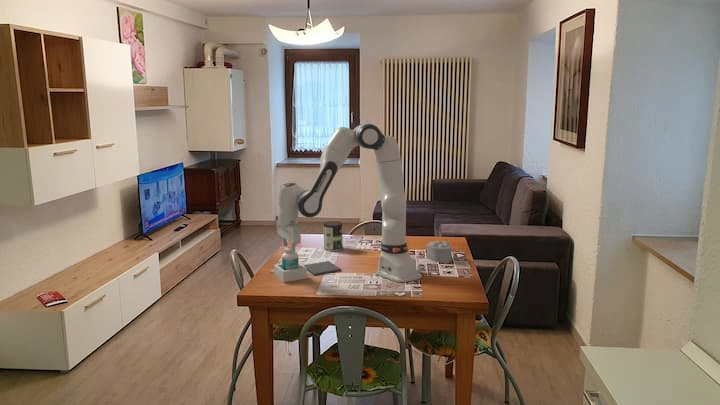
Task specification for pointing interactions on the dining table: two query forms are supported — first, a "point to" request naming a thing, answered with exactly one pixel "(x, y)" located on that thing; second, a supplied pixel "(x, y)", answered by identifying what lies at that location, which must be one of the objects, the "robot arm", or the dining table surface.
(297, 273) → the holder
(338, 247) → the coffee can
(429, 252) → the grey bumpy block
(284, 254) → the pill bottle
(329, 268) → the mat
